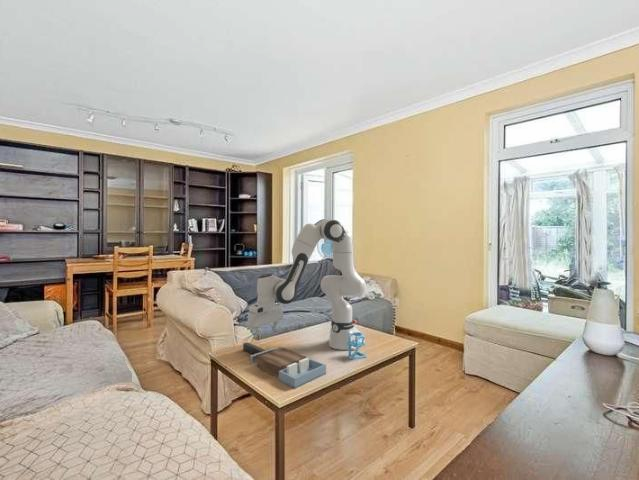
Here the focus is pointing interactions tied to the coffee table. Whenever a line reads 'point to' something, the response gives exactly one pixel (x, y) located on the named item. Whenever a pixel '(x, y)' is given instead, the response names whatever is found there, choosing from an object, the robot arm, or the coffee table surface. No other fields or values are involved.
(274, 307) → the robot arm
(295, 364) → the tile
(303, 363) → the tile
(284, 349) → the plate
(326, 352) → the coffee table surface
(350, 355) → the light blue open frame
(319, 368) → the box
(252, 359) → the scraper
